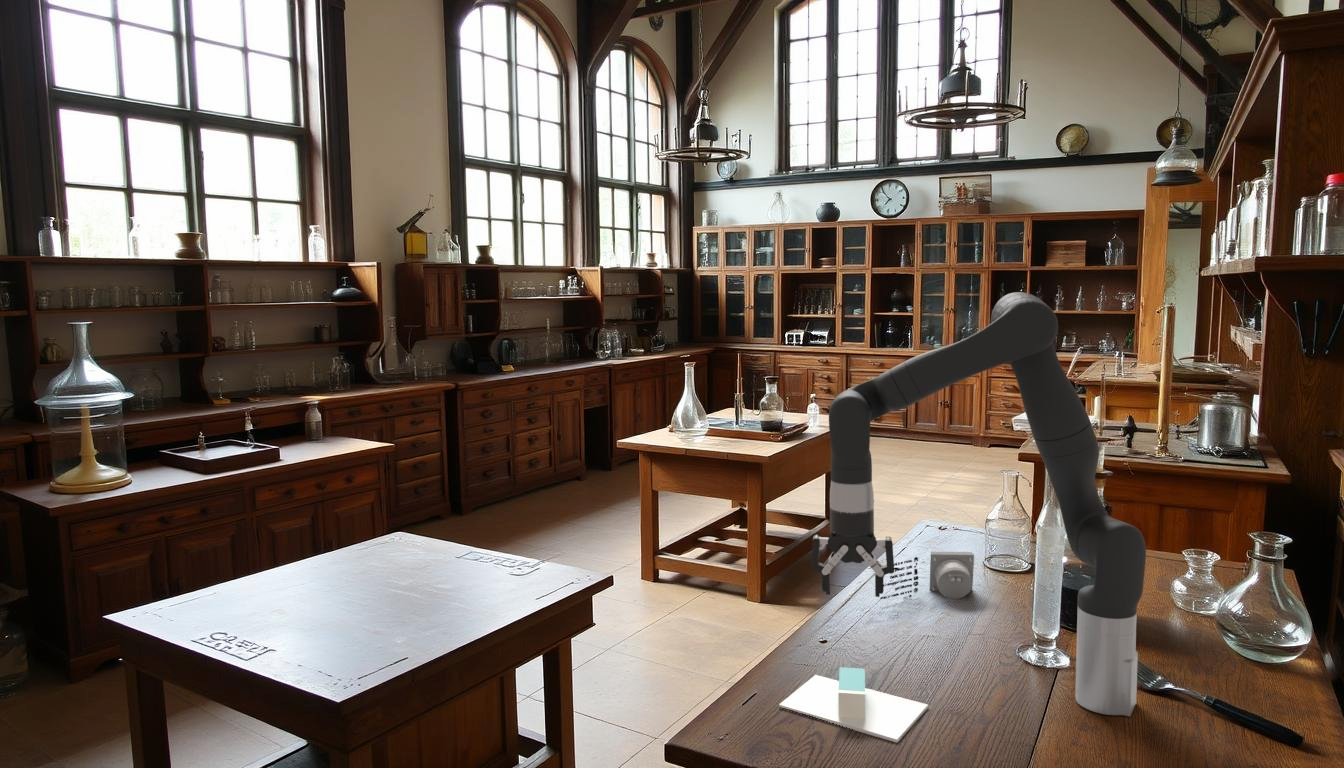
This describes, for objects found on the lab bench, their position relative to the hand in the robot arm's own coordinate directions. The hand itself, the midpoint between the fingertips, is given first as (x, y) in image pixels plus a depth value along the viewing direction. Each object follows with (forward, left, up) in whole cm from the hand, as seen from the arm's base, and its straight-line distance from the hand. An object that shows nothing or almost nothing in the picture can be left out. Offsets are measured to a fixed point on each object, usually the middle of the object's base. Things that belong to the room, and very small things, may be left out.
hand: (852, 594), depth 156 cm
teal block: (+1, -2, -17) cm, 17 cm away
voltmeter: (+8, -56, -20) cm, 60 cm away
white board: (-1, +2, -20) cm, 20 cm away
